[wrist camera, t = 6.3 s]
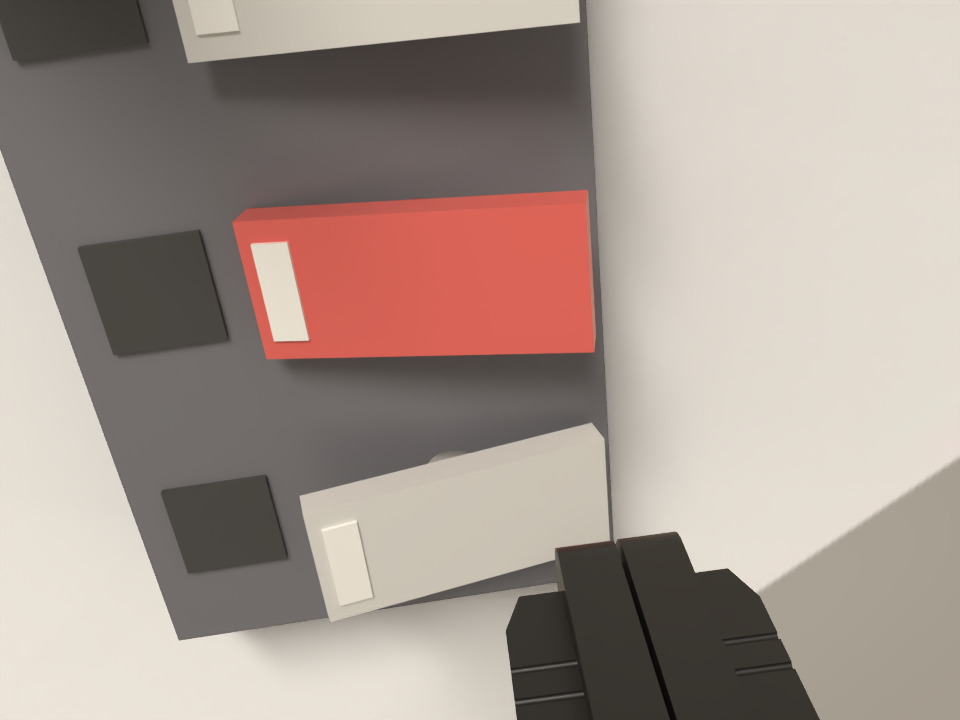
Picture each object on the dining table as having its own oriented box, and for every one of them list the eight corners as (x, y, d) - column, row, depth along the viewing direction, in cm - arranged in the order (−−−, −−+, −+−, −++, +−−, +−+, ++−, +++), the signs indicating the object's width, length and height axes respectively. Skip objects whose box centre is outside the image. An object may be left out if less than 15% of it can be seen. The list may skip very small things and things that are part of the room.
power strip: (539, -288, 23) (571, -321, 19) (591, 503, 35) (616, 577, 31) (-59, -217, 22) (-145, -237, 19) (199, 562, 34) (177, 644, 30)
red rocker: (589, 180, 23) (585, 204, 21) (597, 322, 25) (594, 354, 23) (256, 200, 25) (230, 223, 23) (287, 331, 26) (265, 361, 25)
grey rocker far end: (583, 411, 28) (605, 440, 27) (589, 513, 30) (611, 546, 29) (297, 482, 27) (303, 518, 25) (323, 585, 28) (330, 625, 27)
